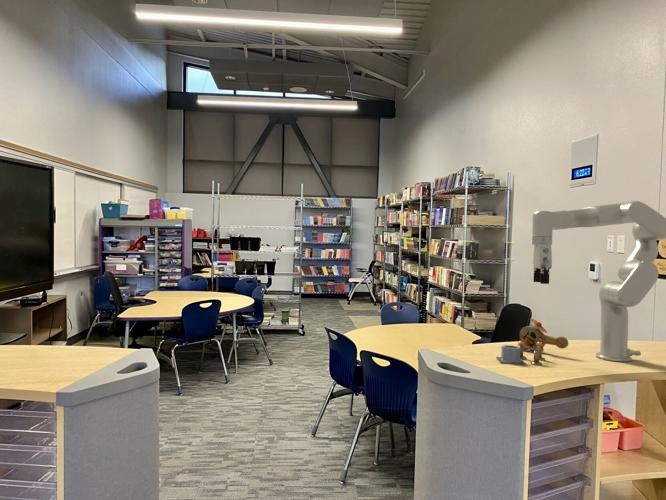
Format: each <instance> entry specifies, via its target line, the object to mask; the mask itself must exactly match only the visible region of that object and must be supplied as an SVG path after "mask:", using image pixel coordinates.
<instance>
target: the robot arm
mask: <svg viewBox="0 0 666 500" xmlns="http://www.w3.org/2000/svg"><path fill="white" fill-rule="evenodd" d="M631 223H634V224H633V226H632V230H631V232H632V235H633V238H634V247H633V249H632V251H631V252H630V254H629V255H628V256H627V258H626V259H625V260H624V261H623V262H622V264H621V265H620V267H619V269H618V271H617V276H618V279H619V280H621V281H619V280H618V281H617V280H616V281H615V280H610V281H607V282H604V283H603V284H602V285H601V286H600V289H599V293H598V296H599V301H600V308H601V310H600V312H601V313H600V314H601V315H600V317H601V318H600V350H599V352H596V353H595V357H596V358H598V359H600V360H605V361H611V362H623V363H625V362H627V363H628V362H631V361H632V360H633V359H632V358H633V357H632V356H638V357H639V356H641V355H642V353H641V351H640V350H634V349H630V348H628V342H629V341H628V337H629V334H628V333H629V311H628V308H632V307H633V308H634V307H636V306H638V304H640V303H641V302H642V301H643V299H644V298H645V297H646V296H647V294H648V293H649V292H650V291H651V289H652V288H653V286H654V285H655V284H656V282H657V281H658V278H659V269H658V266H657V265H656V264H655V263H654V262H655V260H656V258H657V257H658V256H659V255H658V254H659V246H658V242H657V240H665V239H666V217H665V216H663V214H660V213H659V212H658V211H656V210H655V209H654V208H652V207H651V206H650V205H648V204H646V203H644V202H642V201H639V200H633V201H627V202H619V203H611V204H603V205H602V204H601V205H594V206H588V207H584V208H583V207H582V208H578V209H573V210H558V211H556V210H555V211H549V210H538V211H537V210H536V211H534V212H533V213H532V231H531V232H532V237H531V239H532V241H531V242H532V243H531V245H533V246H534V247H533V259H532V264H533V283H540V284H543V285H544V284H545V285H549V284H550V270H551V269H552V267H553V260H552V259H553V258H552V257H553V255H552V252H553V251H552V245H553V231H556V230H567V229H575V228H597V227H606V226H612V225H613V226H614V225H622V224H631Z"/></svg>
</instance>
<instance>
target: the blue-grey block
mask: <svg viewBox="0 0 666 500" xmlns="http://www.w3.org/2000/svg"><path fill="white" fill-rule="evenodd" d="M500 357H501V359H502V360H505V361H510V362H518V361H520V347H518V345H510V344H505V345H501V355H500Z"/></svg>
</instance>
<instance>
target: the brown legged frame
mask: <svg viewBox="0 0 666 500" xmlns="http://www.w3.org/2000/svg"><path fill="white" fill-rule="evenodd" d="M518 345H519V347H520V359H521V360H527V356H525V355H524V351H523V347H525V348H528V350H531V351H533V361H530V364H531V365H533V366H542V365H543V362H541V361H545V357H542V355H543V352H542V343H541V342H537V344H536V345H537V348H536V349H535V348H532V347H529V346H526V345H524V342H523V341H520V340H519V341H518V343H517V346H518Z"/></svg>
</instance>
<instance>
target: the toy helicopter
mask: <svg viewBox="0 0 666 500" xmlns="http://www.w3.org/2000/svg"><path fill="white" fill-rule="evenodd" d="M529 320H530V321H531V322H532V323H533V324H532V326H531V325H528V326H523V327H522V328H521V330H520V331H519V338H520V339H519V341H523V342H524V345H526V346H529V347H532V348H535V349H536V348H537V345H536V344H537V342H541V343H542V353H543V352H544V347H545V346H546V345H552V346H556V347H557V348H558V349H566V348H567V347H568V346H569V340H568V339H567V337H565V336H558V337H554V336H550V335H545V334H546V333H548V331H547V330H546V329H545V328H544V327H543V326H542V323H541V322H540V321H537V320H536V319H535V318H530V319H529ZM544 333H545V334H544ZM517 346H518V347H519V345H518V344H517ZM528 350H529V349H528V348H525V347H523V352H526V351H528Z"/></svg>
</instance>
